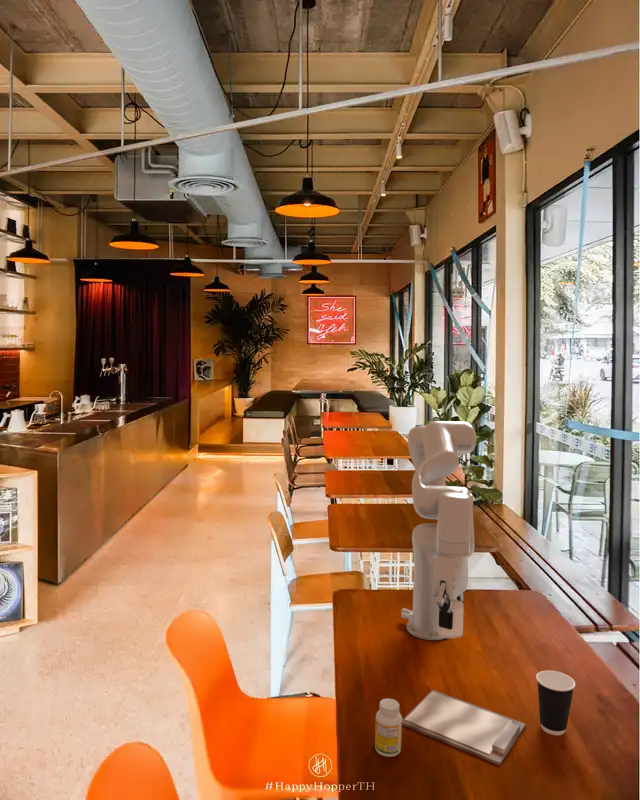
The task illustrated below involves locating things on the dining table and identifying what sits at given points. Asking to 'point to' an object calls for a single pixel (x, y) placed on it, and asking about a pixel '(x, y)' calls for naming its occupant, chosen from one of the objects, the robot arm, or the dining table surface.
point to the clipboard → (465, 726)
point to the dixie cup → (554, 700)
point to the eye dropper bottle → (457, 621)
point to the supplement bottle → (388, 728)
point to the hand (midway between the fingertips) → (450, 622)
